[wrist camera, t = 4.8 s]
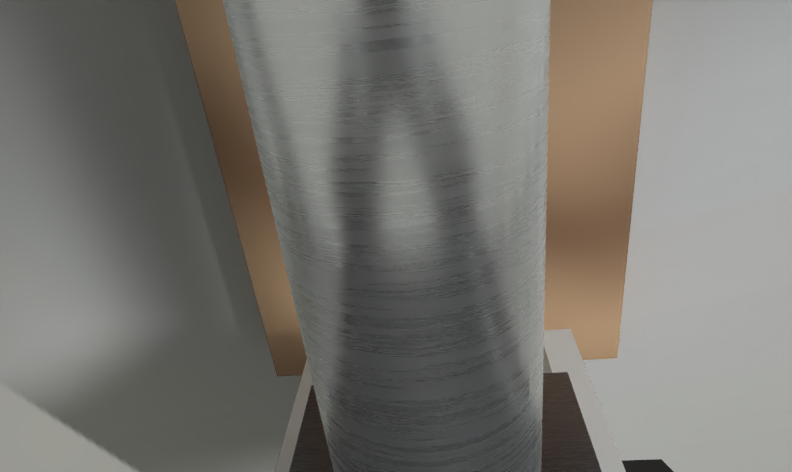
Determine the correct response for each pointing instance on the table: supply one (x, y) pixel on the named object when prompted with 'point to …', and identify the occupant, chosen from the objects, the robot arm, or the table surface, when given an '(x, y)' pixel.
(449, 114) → the shaft
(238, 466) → the table surface
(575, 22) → the walnut board
